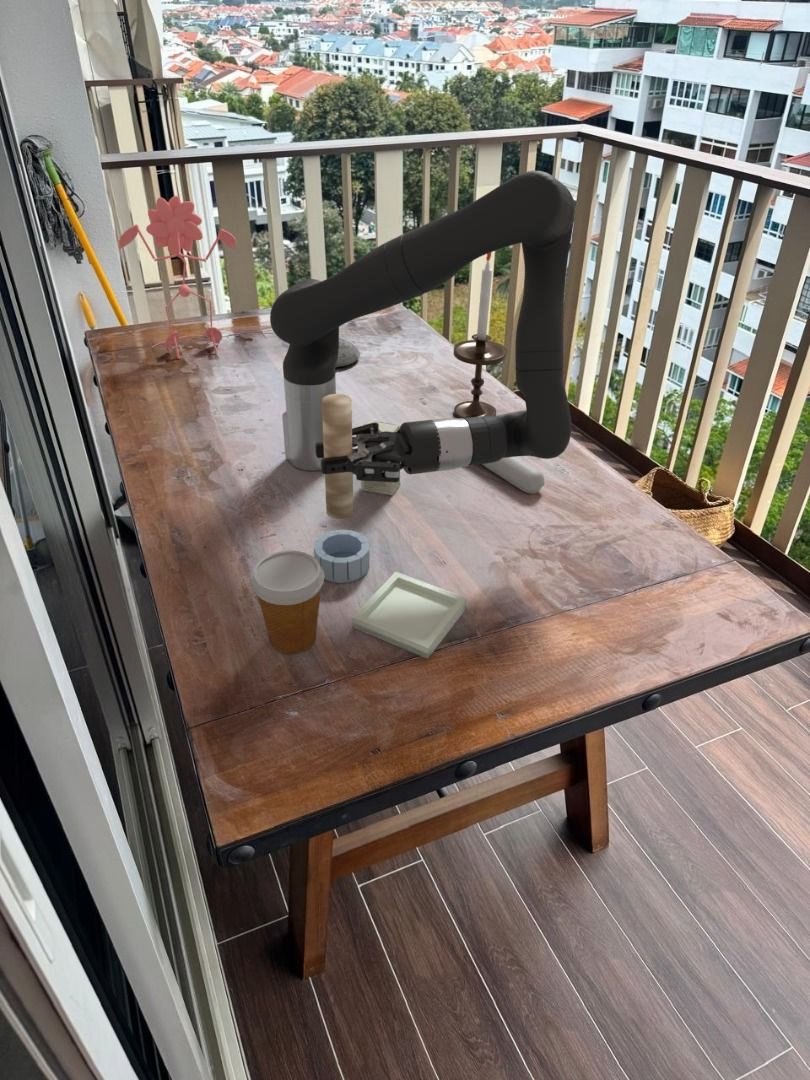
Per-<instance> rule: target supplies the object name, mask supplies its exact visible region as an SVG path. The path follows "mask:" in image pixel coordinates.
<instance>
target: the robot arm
mask: <svg viewBox="0 0 810 1080" xmlns="http://www.w3.org/2000/svg"><path fill="white" fill-rule="evenodd" d="M575 214H576V205H575V200H574V197H573V195H572V193H571V191H570V190H569V189H568V188H567V186H566V185H565V184H563V183H562V182H561V181H559V180H558V179H557V178H556V177H555V176H554V175H552V174H550V173H548V172H545V171H542V170H530V171H525V172H522V173H520V174H517V175H515V176H513V177H512V178H510V179H508V180H506V181H505V182H503V183H502V184H500V185H498V186H496V187H495V188H494V189H492V190H491V191H489V192H488V193H486V194H484V195H483V196H481V197H479V198H478V199H476V200H475V201H472V202H471V203H469V204H467V205H466V206H464V207H462V208H459V209H457V210H455V211H453V212H451V213H448V214H446V215H443V216H441V217H439V218H438V217H437V219H435V220H431V221H429V222H427V223H425V224H423V225H421V226H419V227H416V228H414V229H412V230H409V231H407V232H405V233H403V234H401V235H398V236H396V237H395V238H392V239H390V240H388V241H385V242H384V243H382V244H380V245H379V246H376V247H375V248H373V249H372V250H370V251H369V252H367V253H365V254H364V255H362V256H361V257H359V258H358V259H356V260H355V261H353V262H352V263H350V264H349V265H347V267H345V268H343V269H342V270H340V271H339V272H337V273H335V274H334V275H332V276H330V277H329V278H326V279H324V280H320V279H314V278H307V279H303V280H300V281H298V282H297V283H295V284H293V285H292V286H291V287H289V288H288V289H286V290H285V291H283V292H281V294H280V295H279V296H278V297H277V298H276V299H275V301H274V302H273V304H272V306H271V309H270V313H269V322H270V327H271V328H272V331H273V333H274V335H276V337H277V338H279V339H280V340H281V341H283V342H285V343H287V344H289V345H288V349H287V351H286V354H285V356H284V358H283V360H282V372H283V386H284V387H283V388H284V398H285V411H284V412H283V413H282V416H281V417H282V418H281V419H282V430H283V441H284V443H283V445H284V455H285V460H287V461H289V462H290V463H291V465H293V467H295V468H296V469H300V470H303V471H309V472H310V471H311V472H312V471H315V472H317V471H321V473H322V474H323V475H325V474H334V473H343V472H349V473H350V474H353V475H354V476H356V478H355V479H356V481H360V482H361V481H378V482H399V476H400V477H401V470H404V472H405V473H406V474H407V475H417V474H427V473H434V472H443V471H451V470H456V469H461V468H464V467H469V466H471V467H472V466H478V465H482V464H487V463H493V462H497V461H499V460H501V459H502V458H508V457H535V458H539V459H544V460H545V459H546V460H548V459H554V458H557V457H559V456H560V455H562V454H563V453H564V452H565V450H566V449H567V448H568V446H569V443H570V440H571V437H572V436H571V435H572V415H571V412H570V411H571V410H570V406H569V400H568V395H567V391H566V388H565V384H564V367H565V365H564V361H565V358H564V353H565V352H564V348H565V347H564V344H565V343H564V341H565V340H564V319H565V318H564V315H565V314H564V313H565V294H566V293H565V292H566V291H565V289H566V279H567V278H566V277H567V270H568V260H569V253H570V248H571V242H572V236H573V229H574V222H575V216H576V215H575ZM517 244H521V247H522V255H523V261H524V262H523V263H524V264H523V265H524V284H523V285H524V287H523V295H522V298H521V299H522V300H521V305H520V309H519V315H518V319H517V325H516V331H515V332H516V333H515V346H514V347H515V351H514V352H515V353H514V354H515V356H514V357H515V361H514V362H515V367H514V368H515V384H516V387H517V389H518V391H520V392H521V394H522V395H523V396H524V401H525V409H526V410H519V411H514V412H509V413H504V414H499V415H496V416H480V417H470V418H456V417H454V418H453V417H450V418H449V417H446V418H434V419H426V420H424V419H423V420H417V421H406V422H402V424H401V425H400V429H399V430H398V431H397V432H388V431H384V432H382V431H380V430H379V424H378V423H375V422H374V423H370V424H366V425H364V424H363V425H360V426H355V427H352V455H351V456H349V459H348V457H347V456H340V457H329V458H324V443H323V419H322V399H323V398H324V397H325V396H327V395H331V394H337V387H336V385H337V383H336V379H337V378H336V367H335V366H336V362H337V359H338V353H339V338H340V327H341V326H343V325H345V324H346V323H349V322H351V321H353V320H357V319H358V318H361V317H365V316H367V315H371V314H373V313H377V312H380V311H382V310H385V309H388V308H391V307H394V306H396V305H399V304H403V303H405V302H408V301H410V300H413V299H416V298H417V297H420V296H422V295H424V294H425V295H426V294H427V293H429V292H431V291H434V290H436V289H438V288H439V287H441V286H443V285H444V284H445V283H447V282H448V281H450V280H451V279H452V278H453V277H454V276H456V275H457V274H458V273H460V271H462V270H463V269H464V268H465V267H467V266H468V265H470V263H472V262H474V261H475V260H476V259H478V258H480V257H483V256H485V255H487V254H488V253H490V252H491V253H493V252H496V251H498V250H500V249H501V250H502V249H503V248H507V247H510V246H514V245H517ZM363 444H365V449H364V450H363ZM356 447H357V448H356ZM361 460H363V461H361ZM383 471H384V473H383ZM365 472H367V473H368V474H367V473H365ZM373 472H374V474H369V473H373Z"/></svg>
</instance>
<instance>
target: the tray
mask: <svg viewBox="0 0 810 1080" xmlns="http://www.w3.org/2000/svg"><path fill="white" fill-rule="evenodd" d="M467 605H468V598H467V597H465V596H462V595H460V594H457V593H454V592H452V591H448V590H446V589H443V588H441V587H439V586H435V585H432V584H430V583H428V582H425V581H423V580H420V579H417V578H415V577H411V576H409V575H406V574H404V573H401V572H398V571H395V572H394V573H393V574H391V576H389V578H388V579H387V580H386V581H385V582H384V583H383V585H382V586H380V587H379V589H377V591H376V592H374V594H373V595H372V596H371V597H370V598H369V599H368V600H367V601H366V602H365V604H363V605H362V607H360V609H359V610H358V611H357V612H356V613H355V614H354V615H353V616H352V629H355V630H358V631H360V632H362V633H363V634H364V633H365V634H367V635H369V636H372V637H374V638H377V639H379V640H382V641H384V642H386V643H389V644H391V645H393V646H395V647H398V648H401V649H403V650H405V651H407V652H410V653H413V654H414V655H417V656H420V657H422V658H424V659H429V658H430V656H431V655H432V654H433V653H434V651H435V650H436V649H437V647H438V646H439V645H440V644H441V642H442V641H443V640H444V638H445V637H446V635H448V633H449V632H450V631H451V629H452V628H453V626H455V624H456V623H457V621H458V620H459V619H460V618H461V616H462V615H463V613H464V612H465V611H466V610H467Z"/></svg>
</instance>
